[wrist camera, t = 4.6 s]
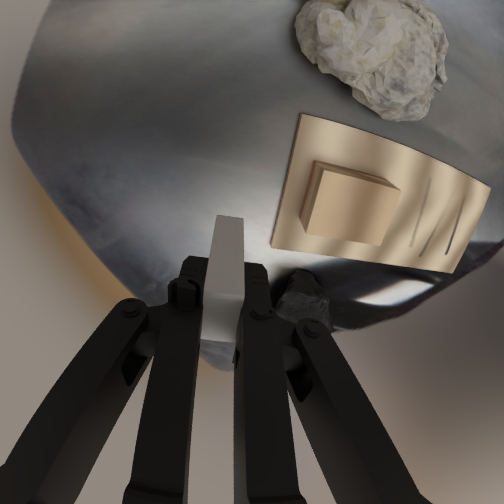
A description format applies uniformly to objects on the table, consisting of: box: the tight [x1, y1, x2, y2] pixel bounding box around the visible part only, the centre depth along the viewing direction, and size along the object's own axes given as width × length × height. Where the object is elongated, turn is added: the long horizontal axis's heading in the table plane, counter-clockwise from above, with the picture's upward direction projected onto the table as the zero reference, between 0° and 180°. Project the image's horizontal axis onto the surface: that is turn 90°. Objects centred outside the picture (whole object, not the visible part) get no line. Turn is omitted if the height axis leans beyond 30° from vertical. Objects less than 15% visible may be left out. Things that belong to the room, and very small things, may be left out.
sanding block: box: [299, 160, 402, 246], centre depth 25 cm, size 8×6×4 cm
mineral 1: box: [275, 270, 334, 334], centre depth 32 cm, size 10×9×6 cm
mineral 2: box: [294, 0, 449, 122], centre depth 14 cm, size 12×17×10 cm
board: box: [270, 113, 491, 273], centre depth 27 cm, size 28×14×1 cm, turn 80°
